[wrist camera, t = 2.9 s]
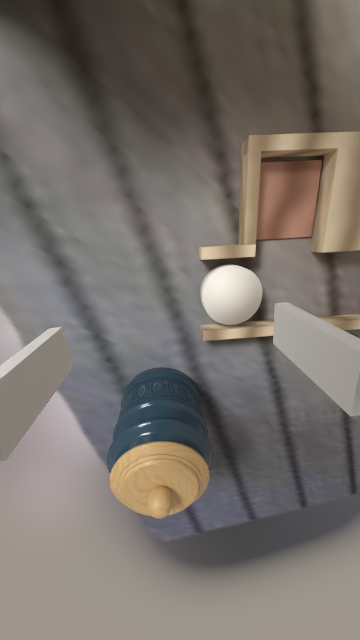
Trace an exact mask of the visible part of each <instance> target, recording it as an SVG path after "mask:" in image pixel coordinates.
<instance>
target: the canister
mask: <svg viewBox="0 0 360 640" xmlns="http://www.w3.org/2000/svg"><path fill="white" fill-rule="evenodd" d="M207 437H208V433H207V427H206V424H205V422H204V419H203V414H202V409H201V400H200V395H199V392H198V390H197V388H196V386H195V385H194V383H193V382H192V380H191V379H190V378H189V377H188V376H186V375H185V374H183V373H182V372H180V371H177V370H174V369H170V368H154V369H150V370H147V371H144V372H142V373H141V374H139V375H137V376H136V377H135V378H134V379H133V380H132V381H131V382H130V384H129V385H128V387H127V388H126V390H125V392H124V394H123V398H122V401H121V410H120V414H119V418H118V422H117V424H116V426H115V429H114V433H113V443H112V444H111V446H110V448H109V451H108V455H107V465H108V469H109V472H110V485H111V489H112V491H113V493H114V495H115V496H116V497H117V499H118V500H119V501H120V502H122V503H123V504H124V505H126V506H127V507H129V508H131V509H132V510H134V511H135V512H138V513H140V514H143V515H148V516H153V517H154V518H157V519H161V518H164V517H166V516H167V515H171V514H175V513H177V512H180V511H182V510H184V509H185V508H187V507H188V506H189V505H190V504H192V503H193V502H195V501H196V500H197V499H198V498H199V497H200V496H201V495H202V494H203V493H204V491H205V490H206V488H207V486H208V483H209V469H210V467H211V464H212V458H213V454H212V448H211V445H210V443H209V441H208V439H207Z"/></svg>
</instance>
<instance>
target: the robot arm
mask: <svg viewBox="0 0 360 640" xmlns="http://www.w3.org/2000/svg"><path fill="white" fill-rule="evenodd" d="M273 344H274V345H275V346H276V347H277V348H278V349H279V350H280V351H281V352H283V353H284V354H285V355H286V356H287V357H288V358H289V359H290V360H291V361H292V362H293V363H294V364H295V365H296V366H297V367H298V368H300V369H301V370H302V371H303V372H304V373H305V374H306V375H307V376H308V377H309V378H310V379H311V380H312V381H313V382H314V383H315V384H317V385H318V386H319V387H320V388H321V389H322V390H323V391H324V392H325V393H326V394H327V395H328V396H329V397H330V398H331V399H332V400H334V401H335V402H336V403H337V404H338V405H339V406H340V407H341V408H342V409H343V410H344V411H345V412H346V413H347V414H348V415H349V416H359V415H360V337H359V336H357V335H354V334H352V333H348V332H346V331H344V330H342V329H340V328H338V327H336V326H334V325H332V324H330V323H328V322H326V321H324V320H322V319H320V318H318V317H316V316H314V315H312V314H310V313H308V312H306V311H304V310H302V309H300V308H298V307H296V306H294V305H292V304H290V303H288V302H285V303H276V304H275V313H274V334H273ZM73 367H74V366H73V363H72V359H71V356H70V352H69V349H68V345H67V342H66V338H65V335H64V331H63V328H62V327H57V328H49V329H48V330H47V331H45V332H44V333H43V334H41V335H40V336H39V337H37V338H36V339H35V340H33V341H32V342H31V343H29V344H28V345H27V346H26V347H24V348H23V349H22V350H20V351H19V352H18V353H16V354H15V355H14V356H12V357H11V358H10V359H8V360H7V361H6V362H4V363H3V364H2V365H1V366H0V461H4V460H6V459H7V458H8V457H9V455H10V454H11V453H12V451H13V450H14V448H15V447H16V446H17V444H18V443H19V441H20V440H21V439H22V437H23V436H24V434H25V433H26V432H27V430H28V429H29V427H30V426H31V425H32V423H33V422H34V421H35V419H36V418H37V416H38V415H39V414H40V412H41V411H42V410H43V408H44V407H45V405H46V404H47V403H48V401H49V400H50V399H51V397H52V396H53V394H54V393H55V392H56V390H57V389H58V388H59V386H60V385H61V383H62V382H63V381H64V379H65V378H66V376H67V375H68V374H69V372H70V371H71V370H72V368H73Z"/></svg>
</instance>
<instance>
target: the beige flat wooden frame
mask: <svg viewBox="0 0 360 640" xmlns="http://www.w3.org/2000/svg"><path fill="white" fill-rule="evenodd" d="M300 156H324V159H323V167H322V174H321V181H320V188H319V195H318V203H317V210H316V217H315V224H314V231H313V238H312V246H311V252H321V253H324V252H341V251H357V250H360V131H355V132H327V133H299V134H271V135H249V136H248V137H247V138H246V140H245V141H244V142H243V143H242V150H241V179H240V208H239V237H238V245H223V246H206V247H199V259H201V260H207V259H224V258H240V257H255V250H256V240H262V239H280V238H297V237H312V230H313V222H314V215H315V208H316V201H317V193H318V186H319V179H320V172H321V164H322V160H306V161H282V162H261V158H275V157H300ZM318 318H320V319H322V320H324V321H326V322H328V323H330V324H332V325H334V326H336V327H338V328H340V329H342V330H354V329H360V314H348V315H334V316H320V317H318ZM200 330H201V337H202V339H203V341H209V340H222V339H235V338H249V337H262V336H273V334H274V320H265V321H251V322H242V323H240V324H236V325H225V324H210V325H200Z"/></svg>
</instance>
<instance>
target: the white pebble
mask: <svg viewBox="0 0 360 640" xmlns="http://www.w3.org/2000/svg"><path fill="white" fill-rule="evenodd" d="M200 299H201V302H202V304H203V306H204V308H205V310H206V311H207V313H208V314H209V316H210V317H211V318H212V319H213V320H215V321H216V322H218V323H221V324H225V325H236V324H240V323H242V322H244V321H246V320H248V319H249V318H250V317H252V316H253V315H254V313H255V312H256V311H257V310H258V308H259V306H260V303H261V300H262V286H261V283H260V281H259V279H258V277H257V276H256V275H255V274H254V273H253V272H252V271H250V270H248V269H246V268H243V267H241V266H238V265H235V264H223V265H219V266H217V267H215V268H213V269H212V270H210V271H209V272H208V273H207V274H206V276H205V277H204V279H203V281H202V283H201V286H200Z"/></svg>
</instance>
